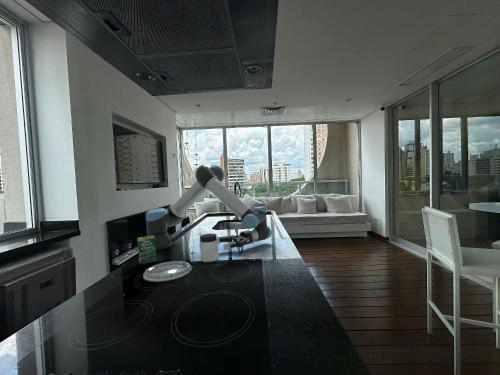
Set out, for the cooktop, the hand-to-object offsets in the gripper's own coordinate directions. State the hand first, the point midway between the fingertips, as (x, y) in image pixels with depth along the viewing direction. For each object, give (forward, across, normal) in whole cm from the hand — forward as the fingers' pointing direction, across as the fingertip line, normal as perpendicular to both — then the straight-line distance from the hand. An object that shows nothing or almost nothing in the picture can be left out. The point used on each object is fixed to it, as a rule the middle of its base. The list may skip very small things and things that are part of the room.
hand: (215, 245), depth 129 cm
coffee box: (+26, +22, -6) cm, 35 cm away
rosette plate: (+26, -1, -6) cm, 26 cm away
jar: (+4, +1, -6) cm, 8 cm away
